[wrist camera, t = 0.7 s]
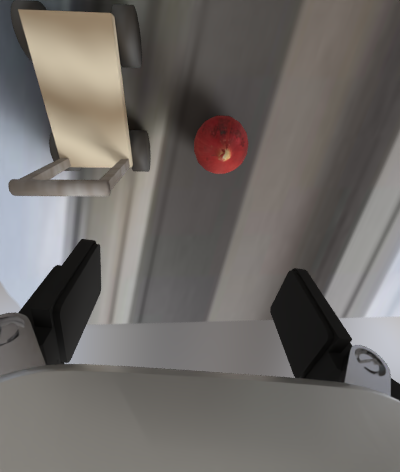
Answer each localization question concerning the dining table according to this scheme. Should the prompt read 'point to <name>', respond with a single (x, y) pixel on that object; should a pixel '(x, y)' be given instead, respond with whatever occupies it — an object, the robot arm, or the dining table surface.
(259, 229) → the dining table surface
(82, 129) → the trolley
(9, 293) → the dining table surface
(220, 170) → the onion
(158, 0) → the dining table surface
